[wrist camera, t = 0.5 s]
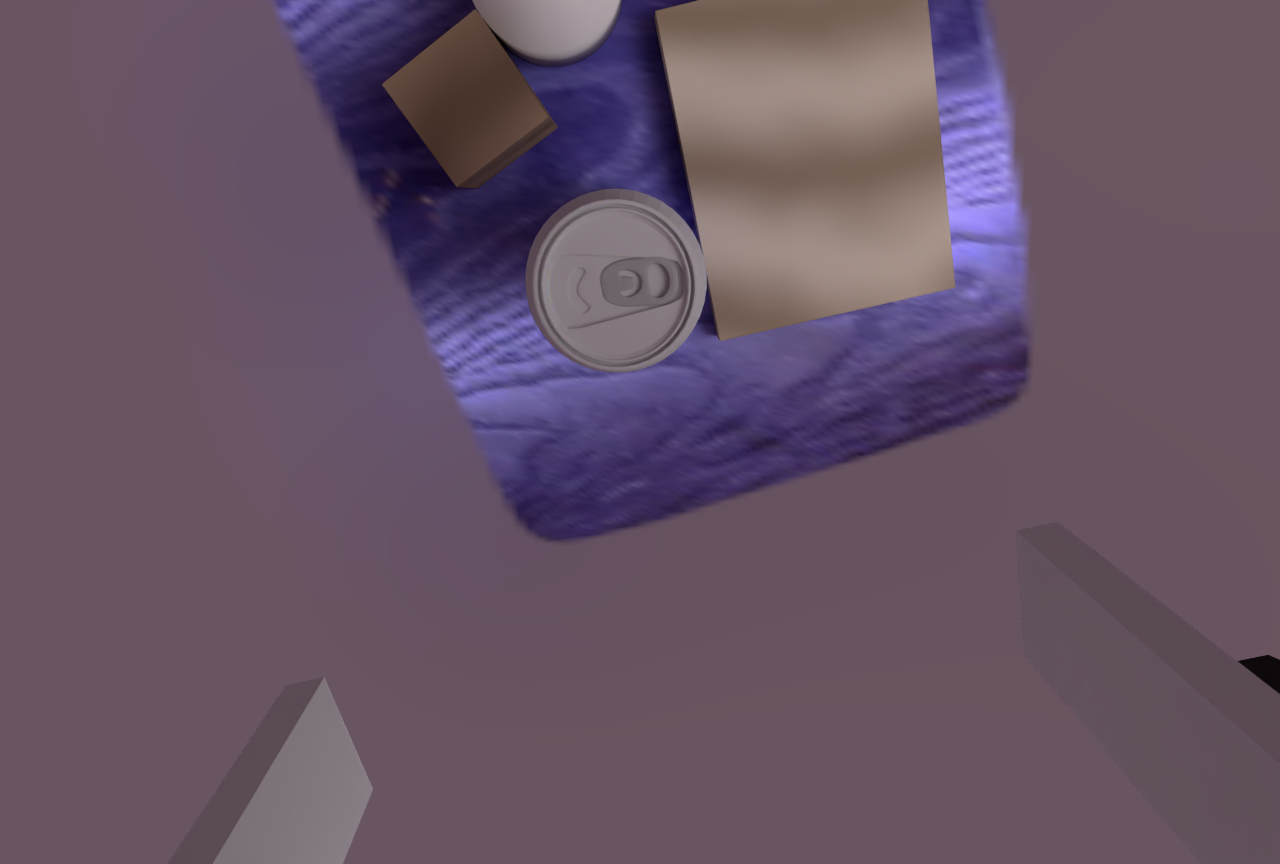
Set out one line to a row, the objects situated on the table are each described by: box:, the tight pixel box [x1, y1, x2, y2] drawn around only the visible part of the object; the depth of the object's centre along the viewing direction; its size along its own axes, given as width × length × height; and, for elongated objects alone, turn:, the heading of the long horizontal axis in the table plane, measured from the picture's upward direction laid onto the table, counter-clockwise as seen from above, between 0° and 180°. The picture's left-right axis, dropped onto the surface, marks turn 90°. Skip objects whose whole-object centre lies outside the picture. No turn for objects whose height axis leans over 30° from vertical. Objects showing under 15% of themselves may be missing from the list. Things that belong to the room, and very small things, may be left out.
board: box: [654, 0, 955, 341], centre depth 33 cm, size 14×11×1 cm
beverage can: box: [525, 189, 707, 372], centre depth 27 cm, size 5×5×15 cm
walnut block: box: [382, 9, 558, 189], centre depth 31 cm, size 4×4×4 cm
